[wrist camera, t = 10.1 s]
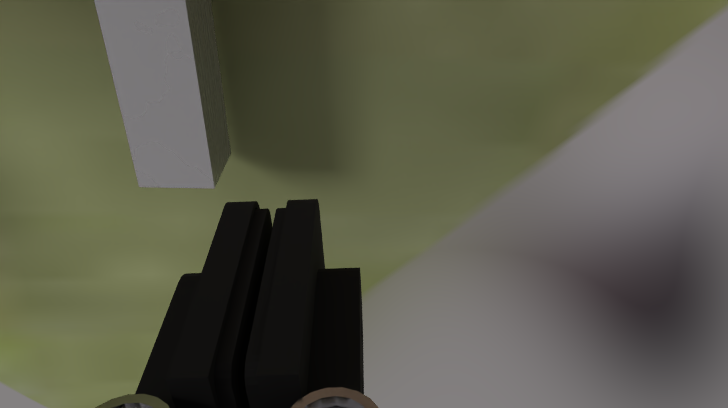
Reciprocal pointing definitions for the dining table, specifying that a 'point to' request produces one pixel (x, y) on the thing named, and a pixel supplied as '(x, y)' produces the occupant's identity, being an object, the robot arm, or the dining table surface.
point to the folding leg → (168, 89)
